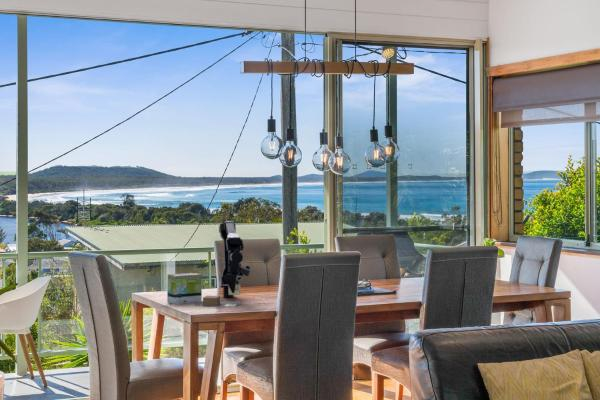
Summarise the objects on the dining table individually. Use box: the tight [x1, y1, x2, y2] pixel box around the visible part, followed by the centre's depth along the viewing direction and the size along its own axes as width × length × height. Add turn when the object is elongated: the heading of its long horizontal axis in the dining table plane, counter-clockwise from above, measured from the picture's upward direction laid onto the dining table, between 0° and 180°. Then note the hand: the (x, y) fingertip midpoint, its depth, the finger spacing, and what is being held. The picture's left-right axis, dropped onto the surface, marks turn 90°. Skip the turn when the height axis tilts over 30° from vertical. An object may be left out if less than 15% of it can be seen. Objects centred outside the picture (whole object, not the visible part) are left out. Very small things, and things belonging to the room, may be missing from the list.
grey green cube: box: [227, 283, 241, 296], centre depth 429 cm, size 5×5×5 cm
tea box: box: [166, 272, 203, 305], centre depth 436 cm, size 15×10×15 cm, turn 126°
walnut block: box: [202, 295, 221, 307], centre depth 424 cm, size 7×7×4 cm
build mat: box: [193, 300, 244, 308], centre depth 426 cm, size 16×22×1 cm
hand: (234, 292), depth 429 cm, fingers closed on grey green cube, 5 cm apart
